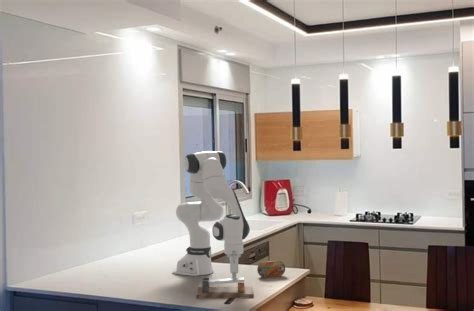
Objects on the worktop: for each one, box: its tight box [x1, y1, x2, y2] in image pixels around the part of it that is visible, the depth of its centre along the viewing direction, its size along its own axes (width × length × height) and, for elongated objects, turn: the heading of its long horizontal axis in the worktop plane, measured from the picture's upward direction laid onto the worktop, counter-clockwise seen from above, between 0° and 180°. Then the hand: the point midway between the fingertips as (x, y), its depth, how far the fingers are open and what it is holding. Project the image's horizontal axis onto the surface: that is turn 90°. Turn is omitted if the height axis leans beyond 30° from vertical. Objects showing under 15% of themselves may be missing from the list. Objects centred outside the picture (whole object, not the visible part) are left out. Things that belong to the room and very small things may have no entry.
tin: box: [256, 260, 286, 279], centre depth 284 cm, size 15×3×8 cm, turn 105°
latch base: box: [196, 276, 254, 299], centre depth 251 cm, size 26×14×7 cm, turn 91°
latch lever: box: [209, 277, 245, 285], centre depth 251 cm, size 18×4×1 cm, turn 91°
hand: (234, 279), depth 251 cm, fingers closed, pressing on latch lever
